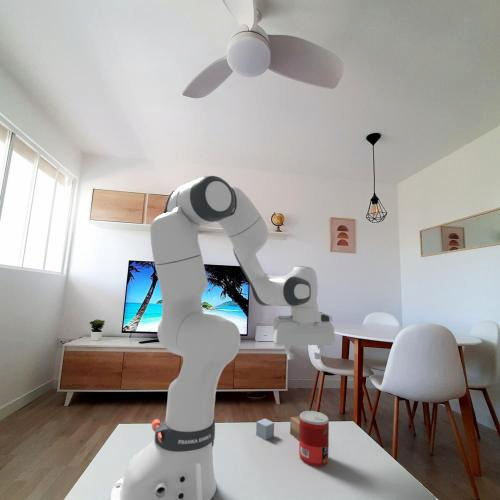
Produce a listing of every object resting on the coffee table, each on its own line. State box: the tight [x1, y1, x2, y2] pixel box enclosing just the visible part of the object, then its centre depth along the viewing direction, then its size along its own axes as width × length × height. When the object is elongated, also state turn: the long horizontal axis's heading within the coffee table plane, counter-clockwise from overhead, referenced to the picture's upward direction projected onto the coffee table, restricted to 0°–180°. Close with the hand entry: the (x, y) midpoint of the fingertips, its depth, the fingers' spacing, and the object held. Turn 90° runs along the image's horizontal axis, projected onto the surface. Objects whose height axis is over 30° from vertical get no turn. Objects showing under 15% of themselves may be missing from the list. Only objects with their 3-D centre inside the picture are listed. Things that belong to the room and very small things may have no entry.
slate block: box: [255, 418, 275, 441], centre depth 90 cm, size 4×4×4 cm
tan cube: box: [289, 415, 300, 442], centre depth 91 cm, size 5×5×5 cm
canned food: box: [298, 410, 330, 467], centre depth 79 cm, size 8×8×11 cm
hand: (304, 359), depth 92 cm, fingers open, 8 cm apart
